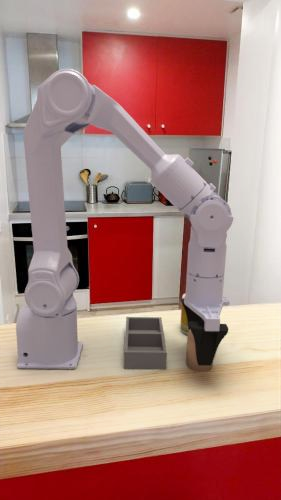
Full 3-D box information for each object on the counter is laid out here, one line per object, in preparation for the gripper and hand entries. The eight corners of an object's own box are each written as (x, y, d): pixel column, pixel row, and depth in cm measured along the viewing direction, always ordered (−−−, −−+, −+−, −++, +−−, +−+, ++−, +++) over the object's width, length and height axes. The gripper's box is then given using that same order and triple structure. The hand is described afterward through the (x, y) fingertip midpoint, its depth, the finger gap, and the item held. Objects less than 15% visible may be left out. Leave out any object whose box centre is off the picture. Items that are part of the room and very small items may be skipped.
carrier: (124, 368, 58) (124, 352, 57) (126, 330, 71) (126, 316, 70) (166, 369, 58) (166, 352, 57) (160, 331, 71) (161, 317, 70)
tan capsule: (187, 372, 58) (190, 330, 56) (184, 357, 62) (186, 318, 60) (215, 372, 58) (218, 331, 56) (209, 357, 62) (212, 318, 60)
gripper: (244, 289, 49) (236, 377, 52) (220, 259, 63) (215, 330, 66) (192, 288, 49) (187, 377, 52) (180, 259, 63) (176, 330, 66)
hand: (200, 351), depth 59 cm, fingers open, 7 cm apart
